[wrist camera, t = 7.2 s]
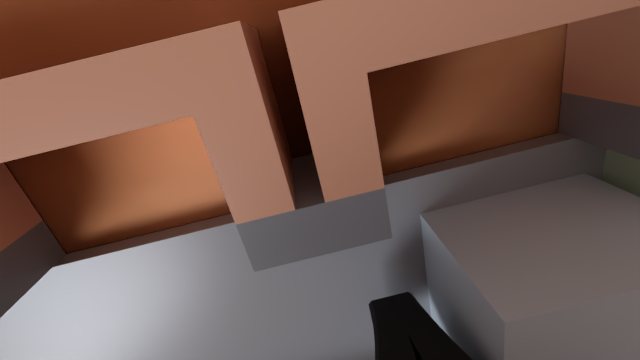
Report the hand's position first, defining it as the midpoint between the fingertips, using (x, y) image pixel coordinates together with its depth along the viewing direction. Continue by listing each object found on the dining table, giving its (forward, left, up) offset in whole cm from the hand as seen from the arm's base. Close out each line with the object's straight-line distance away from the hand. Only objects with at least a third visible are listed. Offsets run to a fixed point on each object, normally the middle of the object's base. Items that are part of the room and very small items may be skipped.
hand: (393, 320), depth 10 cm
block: (-3, -3, -1) cm, 4 cm away
